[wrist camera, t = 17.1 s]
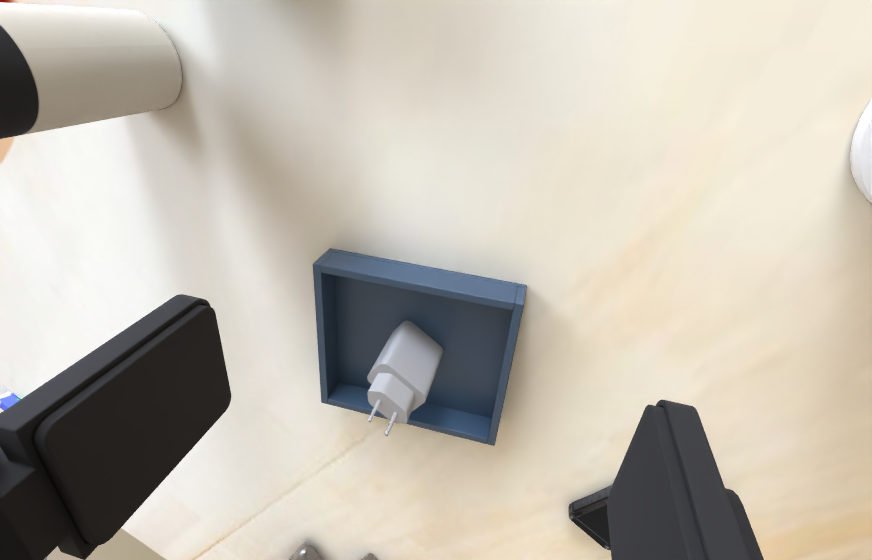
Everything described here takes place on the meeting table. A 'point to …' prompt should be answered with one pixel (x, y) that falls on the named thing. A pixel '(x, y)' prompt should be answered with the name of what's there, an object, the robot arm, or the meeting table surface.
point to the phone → (593, 516)
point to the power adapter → (403, 373)
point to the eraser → (8, 400)
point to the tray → (436, 316)
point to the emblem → (315, 554)
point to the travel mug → (81, 66)
